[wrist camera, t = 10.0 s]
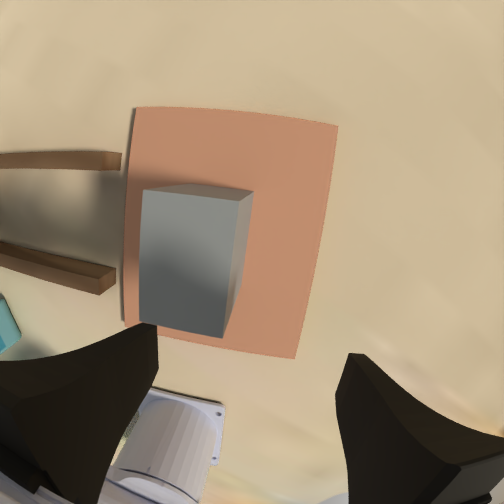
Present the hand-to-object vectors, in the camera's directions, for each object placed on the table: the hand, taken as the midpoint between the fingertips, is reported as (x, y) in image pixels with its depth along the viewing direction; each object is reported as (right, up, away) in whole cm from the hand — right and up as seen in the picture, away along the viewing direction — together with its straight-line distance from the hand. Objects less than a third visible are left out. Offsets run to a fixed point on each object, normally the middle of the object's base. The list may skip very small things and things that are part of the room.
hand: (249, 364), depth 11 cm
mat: (-2, +5, +9) cm, 11 cm away
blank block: (-2, +5, +9) cm, 10 cm away
